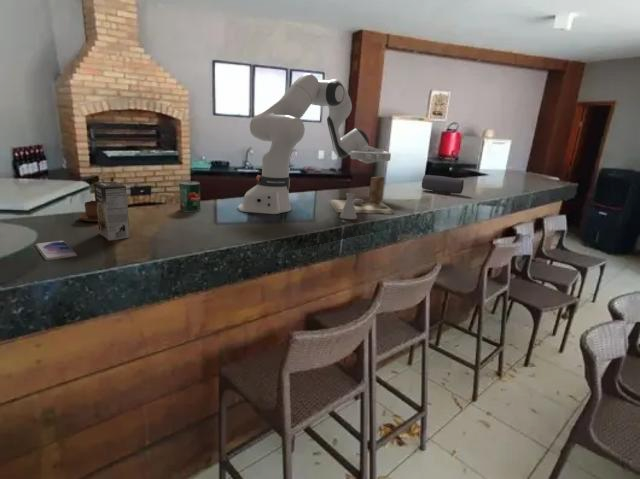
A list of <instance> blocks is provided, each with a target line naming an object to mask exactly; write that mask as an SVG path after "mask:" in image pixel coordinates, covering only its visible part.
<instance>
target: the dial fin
mask: <svg viewBox="0 0 640 479" xmlns="http://www.w3.org/2000/svg"><path fill="white" fill-rule="evenodd" d="M384 183H385V176H371V178H370V185H369V193H368V195H369V196H368V200H363V199H362V198H361V199H360V198H353V200H354V201H353V203H354V205H362V204H367V203H381V202H382V203H383V194H384V193H383V192H384V185H385V184H384Z"/></svg>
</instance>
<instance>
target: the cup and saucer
mask: <svg viewBox="0 0 640 479" xmlns="http://www.w3.org/2000/svg"><path fill="white" fill-rule="evenodd" d="M84 210H85V212H82V213H79V214H78V216H77V217H78V219H80V220H81V221H84V222H89V223H98V217H97V208H96V200H91V201H86V202H84Z"/></svg>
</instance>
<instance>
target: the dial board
mask: <svg viewBox="0 0 640 479" xmlns="http://www.w3.org/2000/svg"><path fill="white" fill-rule="evenodd" d="M353 201H354V199H353ZM329 202H330V204H331V206H332V207H333V209H334V210H335V212H336V213H341V212H342V210H343V208H344V206H345V203H346V199H330V201H329ZM354 208H355V212H356V214H379V213H384V214H383V215H394V210H393V209H392V208H390V207H389V206H388V205H387V204H385V203H384V202H383V201H382V202H381V203H367V204H362V205H354Z"/></svg>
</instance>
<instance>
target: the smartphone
mask: <svg viewBox="0 0 640 479" xmlns="http://www.w3.org/2000/svg"><path fill="white" fill-rule="evenodd" d="M34 247H35V248H36V249H37V250H38V252H39V253H40V254H41V257H43V258H44V260H45V261H54V260H58V259H65V258H70V257H77V256H78V254H77V253H76V251H74V249H72V247H70V245H69V244H68V243H67V242H66V241H64V240H54V241H47V242H40V243H39V242H37V243H35V244H34Z"/></svg>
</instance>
